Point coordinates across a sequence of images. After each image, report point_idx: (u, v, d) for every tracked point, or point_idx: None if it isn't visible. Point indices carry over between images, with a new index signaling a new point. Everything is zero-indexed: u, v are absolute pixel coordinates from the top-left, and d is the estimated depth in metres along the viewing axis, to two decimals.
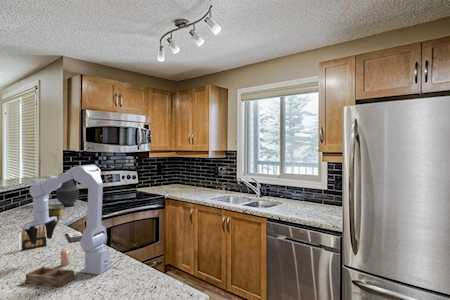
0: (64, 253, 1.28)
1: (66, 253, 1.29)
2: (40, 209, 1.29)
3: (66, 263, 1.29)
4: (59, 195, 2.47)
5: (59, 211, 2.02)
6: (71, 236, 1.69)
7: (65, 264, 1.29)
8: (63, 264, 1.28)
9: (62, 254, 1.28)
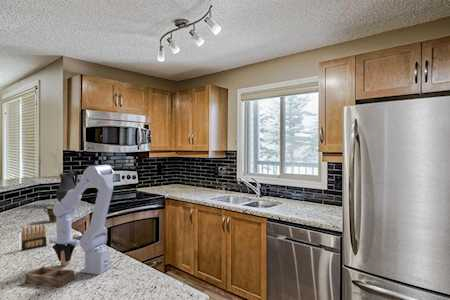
0: (64, 253, 1.28)
1: None
2: (63, 229, 1.27)
3: (66, 263, 1.29)
4: (59, 195, 2.47)
5: None
6: None
7: (65, 264, 1.29)
8: (63, 264, 1.28)
9: (62, 254, 1.28)
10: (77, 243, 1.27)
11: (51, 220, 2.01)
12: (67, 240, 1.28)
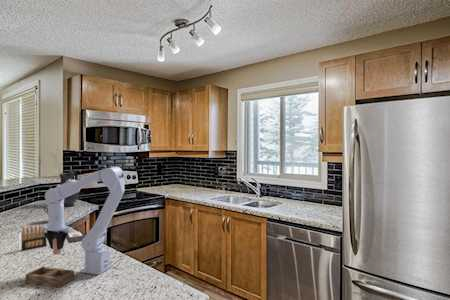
0: (56, 241, 1.23)
1: None
2: (57, 215, 1.22)
3: (58, 251, 1.24)
4: None
5: None
6: (71, 236, 1.69)
7: (57, 252, 1.24)
8: (55, 252, 1.23)
9: (54, 242, 1.23)
10: (69, 230, 1.22)
11: None
12: (59, 227, 1.23)
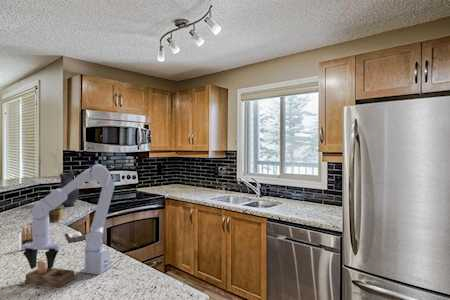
0: (42, 263, 1.15)
1: (44, 263, 1.16)
2: (46, 231, 1.15)
3: None
4: None
5: (59, 211, 2.02)
6: (70, 236, 1.69)
7: None
8: None
9: (40, 264, 1.15)
10: (58, 247, 1.15)
11: (51, 220, 2.01)
12: (46, 245, 1.15)
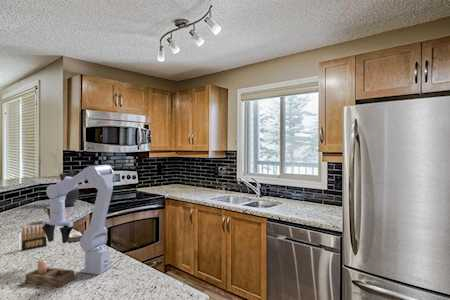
0: (42, 263, 1.15)
1: (44, 263, 1.16)
2: (56, 210, 1.29)
3: None
4: None
5: None
6: (70, 236, 1.69)
7: None
8: None
9: (40, 264, 1.15)
10: (70, 224, 1.29)
11: None
12: (60, 221, 1.30)
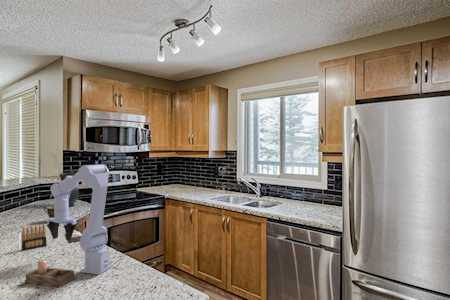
0: (42, 263, 1.15)
1: (45, 263, 1.16)
2: (59, 208, 1.33)
3: None
4: None
5: None
6: None
7: None
8: None
9: (40, 264, 1.15)
10: (74, 222, 1.33)
11: None
12: (64, 219, 1.34)
